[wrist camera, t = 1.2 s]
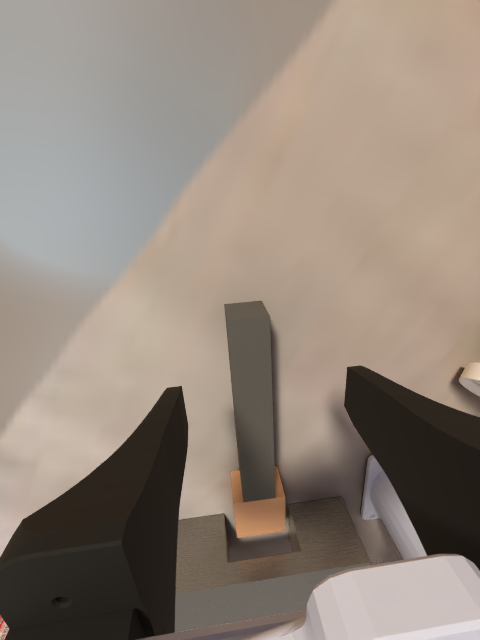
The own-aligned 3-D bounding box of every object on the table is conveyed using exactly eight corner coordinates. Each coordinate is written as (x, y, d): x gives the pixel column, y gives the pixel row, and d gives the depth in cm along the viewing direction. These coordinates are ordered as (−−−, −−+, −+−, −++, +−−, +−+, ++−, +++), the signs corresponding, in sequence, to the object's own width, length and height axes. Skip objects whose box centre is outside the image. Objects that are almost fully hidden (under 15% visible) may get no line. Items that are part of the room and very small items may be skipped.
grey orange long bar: (272, 299, 20) (282, 315, 17) (277, 497, 27) (285, 530, 24) (213, 305, 20) (213, 322, 17) (234, 503, 27) (237, 538, 24)
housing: (341, 496, 28) (370, 562, 23) (338, 531, 30) (364, 599, 25) (168, 521, 27) (159, 596, 22) (176, 556, 29) (170, 633, 24)
